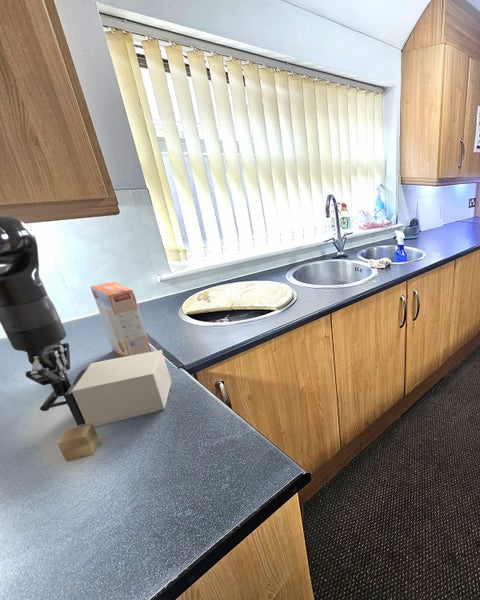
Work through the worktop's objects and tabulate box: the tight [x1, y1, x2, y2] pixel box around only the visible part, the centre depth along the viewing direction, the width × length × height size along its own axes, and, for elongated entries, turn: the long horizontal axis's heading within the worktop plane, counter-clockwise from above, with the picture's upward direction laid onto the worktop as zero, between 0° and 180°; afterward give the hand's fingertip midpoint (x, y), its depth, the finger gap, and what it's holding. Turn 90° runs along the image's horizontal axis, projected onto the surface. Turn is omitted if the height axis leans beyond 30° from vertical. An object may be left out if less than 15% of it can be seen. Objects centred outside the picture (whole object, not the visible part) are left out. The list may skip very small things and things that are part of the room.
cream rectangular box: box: [72, 349, 172, 428], centre depth 75 cm, size 14×12×10 cm
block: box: [56, 423, 101, 463], centre depth 63 cm, size 4×4×4 cm
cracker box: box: [90, 281, 152, 358], centre depth 94 cm, size 14×6×21 cm, turn 56°
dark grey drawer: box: [39, 368, 87, 427], centre depth 73 cm, size 17×10×8 cm, turn 117°
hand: (65, 394), depth 70 cm, fingers closed
